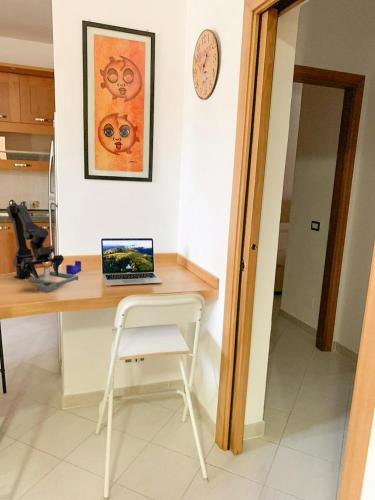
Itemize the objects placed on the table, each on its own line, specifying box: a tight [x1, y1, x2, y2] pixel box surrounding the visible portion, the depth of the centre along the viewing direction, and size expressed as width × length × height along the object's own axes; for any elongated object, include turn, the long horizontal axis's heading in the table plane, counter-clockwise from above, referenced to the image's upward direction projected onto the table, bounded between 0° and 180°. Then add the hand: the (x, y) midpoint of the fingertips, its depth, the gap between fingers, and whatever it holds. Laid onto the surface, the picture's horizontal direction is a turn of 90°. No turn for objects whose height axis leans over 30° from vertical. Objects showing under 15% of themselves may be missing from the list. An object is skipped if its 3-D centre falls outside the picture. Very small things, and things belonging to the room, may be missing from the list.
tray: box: [28, 270, 79, 287], centre depth 194 cm, size 18×16×3 cm
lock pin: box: [41, 261, 52, 285], centre depth 176 cm, size 4×4×14 cm
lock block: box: [37, 281, 58, 293], centre depth 177 cm, size 6×6×4 cm
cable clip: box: [65, 260, 82, 275], centre depth 213 cm, size 12×4×6 cm, turn 170°
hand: (47, 277), depth 176 cm, fingers open, 9 cm apart
